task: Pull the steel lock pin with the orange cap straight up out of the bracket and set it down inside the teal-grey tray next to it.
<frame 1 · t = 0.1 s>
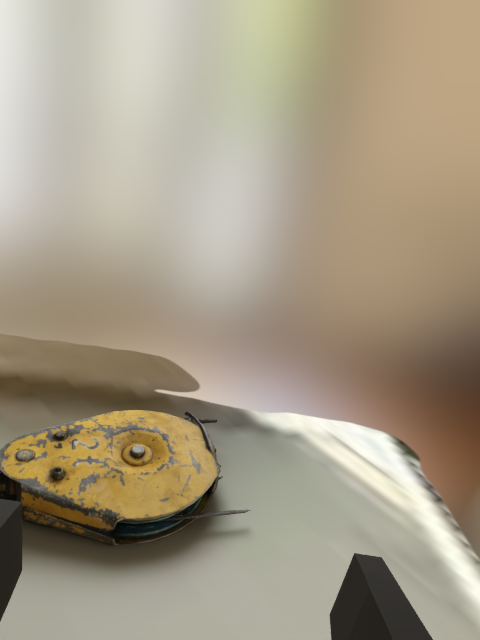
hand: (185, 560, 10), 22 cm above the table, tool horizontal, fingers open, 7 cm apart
pulley block: (70, 494, 41), on the table
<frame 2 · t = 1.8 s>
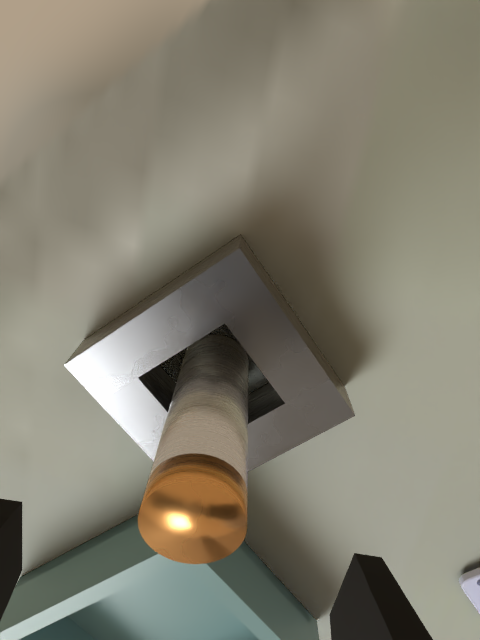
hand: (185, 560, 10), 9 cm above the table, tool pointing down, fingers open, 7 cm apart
pin bracket: (215, 364, 18), on the table
lock pin: (207, 424, 14), in the pin bracket
tray: (171, 599, 24), on the table
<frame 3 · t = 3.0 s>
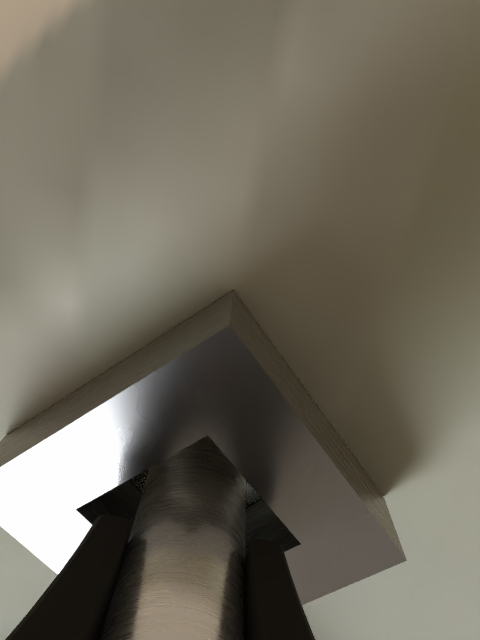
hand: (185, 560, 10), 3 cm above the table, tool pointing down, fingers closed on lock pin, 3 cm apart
pin bracket: (198, 468, 13), on the table
lock pin: (178, 609, 9), in the pin bracket, touching gripper
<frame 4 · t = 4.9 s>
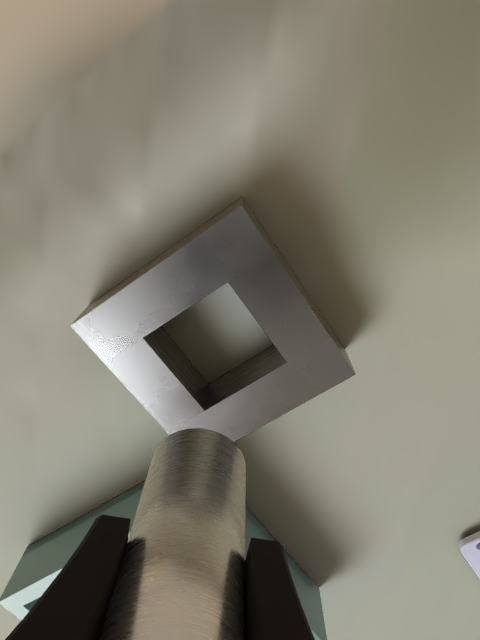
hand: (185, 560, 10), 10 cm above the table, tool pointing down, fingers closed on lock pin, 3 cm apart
pin bracket: (218, 328, 18), on the table
lock pin: (177, 608, 9), point 11 cm above the table, touching gripper
tray: (175, 568, 24), on the table
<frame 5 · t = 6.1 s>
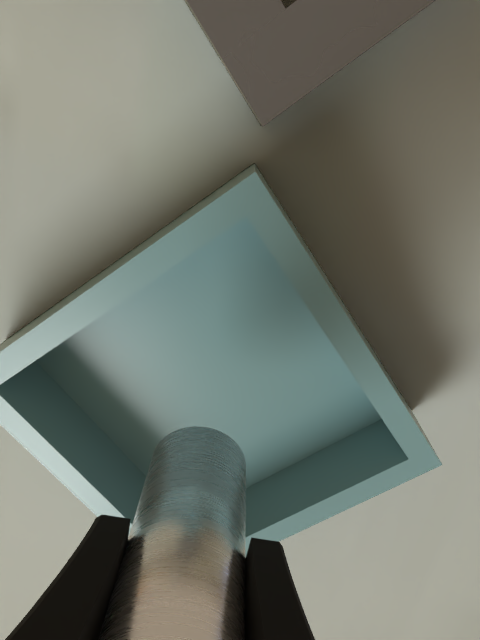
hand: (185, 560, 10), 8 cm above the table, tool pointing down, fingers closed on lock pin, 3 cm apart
lock pin: (178, 605, 9), point 9 cm above the table, touching gripper
tray: (213, 376, 17), on the table
when the fingers open (5 cm above the table, at t = 6.8 s): lock pin drops 2 cm, resting on tray.
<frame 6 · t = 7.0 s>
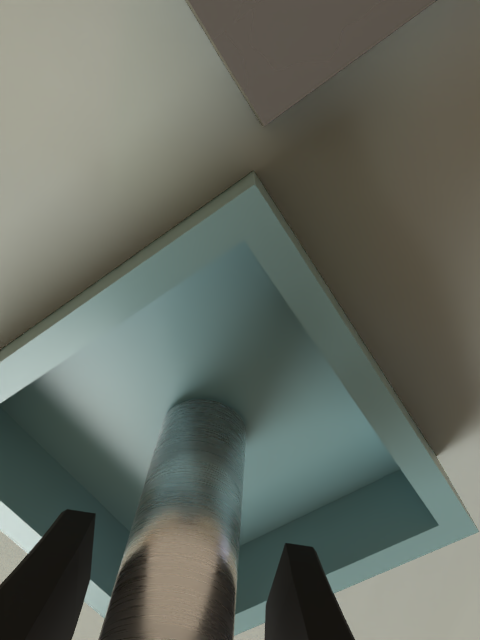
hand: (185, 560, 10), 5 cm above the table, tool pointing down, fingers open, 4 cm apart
lock pin: (182, 555, 10), in the tray, point 5 cm above the table, tilted 7°
tray: (206, 418, 15), on the table
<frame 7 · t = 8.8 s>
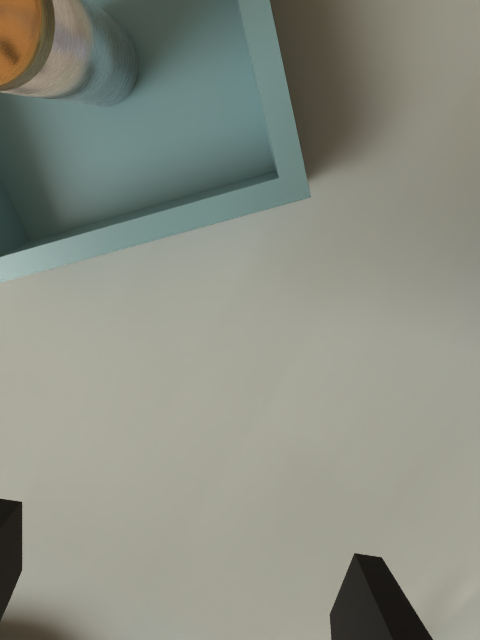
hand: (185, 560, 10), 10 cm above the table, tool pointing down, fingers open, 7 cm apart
lock pin: (49, 40, 11), in the tray, point 5 cm above the table
tray: (104, 66, 15), on the table
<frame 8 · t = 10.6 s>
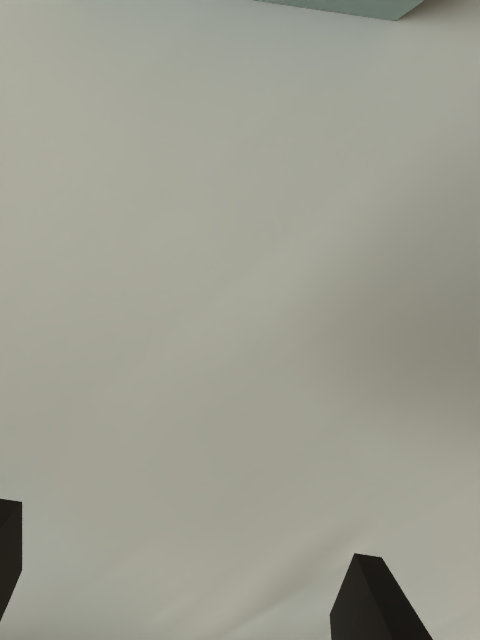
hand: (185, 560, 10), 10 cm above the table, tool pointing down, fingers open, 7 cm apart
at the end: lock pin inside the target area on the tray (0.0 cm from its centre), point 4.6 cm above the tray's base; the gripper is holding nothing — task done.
